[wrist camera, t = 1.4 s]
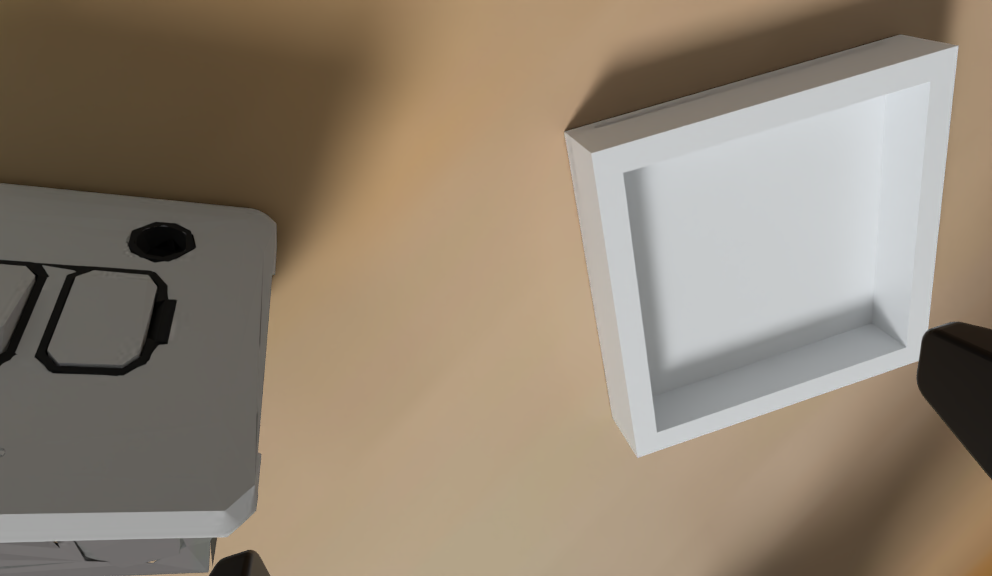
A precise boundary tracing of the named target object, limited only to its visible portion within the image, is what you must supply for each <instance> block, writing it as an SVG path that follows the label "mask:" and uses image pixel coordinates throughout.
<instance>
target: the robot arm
mask: <svg viewBox="0 0 992 576" xmlns="http://www.w3.org/2000/svg"><path fill="white" fill-rule="evenodd" d="M917 384H918V387H919V390H920V391H921V393H922V395H923V396H924V398H925V399H926V400H927V401H928V403H929V404H930V405H931V406H932V408H933V409H934V410H935V411H936V412H937V414H938V415H939V416H940V417H941V419H942V420H943V421H944V422H945V423H946V425H947V426H948V427H949V428H950V430H951V431H952V432H953V433H954V434H955V436H956V437H957V438H958V439H959V441H960V442H961V443H962V444H963V445H964V447H965V448H966V449H967V450H968V452H969V453H970V454H971V455H972V456H973V458H974V459H975V460H976V461H977V463H978V464H979V465H980V466H981V467H982V469H983V470H984V471H985V472H986V473H987V475H988V476H989V477H990V478H991V479H992V329H987V328H983V327H979V326H975V325H971V324H967V323H963V322H950V323H947V324H944V325H940V326H937V327H934V328H931V329H929V330H927V331H926V332H925V334H924V335H923V337H922V341H921V348H920V355H919V362H918V369H917ZM209 576H270V574H269V572H268V571H267V569H266V567H265V565H264V563H263V561H262V559H261V557H260V556H259V554H258V553H257V552H255V551H254V550H247V551H244V552H241V553H237V554H234V555H231V556H228V557H225V558H223V559H221V560H220V561H219V562H218V563H217V564H216V565H215V567H214V568H213V570H212V572H211V573H210V575H209Z"/></svg>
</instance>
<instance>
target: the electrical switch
mask: <svg viewBox="0 0 992 576" xmlns="http://www.w3.org/2000/svg"><path fill="white" fill-rule="evenodd" d="M276 252H277V228H276V223H275V222H274V221H273V220H272V219H271V218H270V217H269V216H268V215H267V214H265V213H263V212H261V211H259V210H256V209H252V208H242V207H233V206H223V205H213V204H203V203H193V202H183V201H173V200H164V199H154V198H144V197H134V196H124V195H114V194H104V193H95V192H85V191H75V190H65V189H55V188H45V187H36V186H26V185H16V184H6V183H0V576H129V575H153V574H178V573H203V572H208V571H209V558H210V543H211V554H212V566H213V560H214V554H215V547H216V540H217V537H228V536H229V535H230V534H231V533H232V532H234V531H235V530H236V529H237V528H238V527H239V526H240V525H242V524H243V523H244V522H245V521H246V520H247V519H248V518H249V517H250V516H251V515H252V514H253V513H254V512H255V511H256V507H257V500H258V484H259V474H260V463H261V454H260V453H258V444H259V431H260V419H261V407H262V394H263V382H264V370H265V358H266V345H267V333H268V321H269V309H270V296H271V284H272V275H275V268H276ZM53 541H57V543H54V542H53ZM154 560H156V561H155V562H154V563H148V562H150V561H154Z"/></svg>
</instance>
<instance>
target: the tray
mask: <svg viewBox="0 0 992 576" xmlns="http://www.w3.org/2000/svg"><path fill="white" fill-rule="evenodd" d="M957 54H958V45H953V44H948V43H943V42H937V41H932V40H927V39H922V38H916V37H911V36H906V35H901V34H900V35H897V36H893V37H890V38H886V39H883V40H879V41H876V42H872V43H869V44H866V45H862V46H859V47H855V48H852V49H848V50H845V51H841V52H838V53H834V54H831V55H828V56H824V57H821V58H817V59H814V60H810V61H807V62H803V63H800V64H796V65H793V66H789V67H786V68H783V69H779V70H776V71H772V72H769V73H765V74H762V75H758V76H755V77H751V78H748V79H745V80H741V81H738V82H734V83H731V84H727V85H724V86H720V87H717V88H713V89H710V90H706V91H703V92H700V93H696V94H693V95H689V96H686V97H682V98H679V99H675V100H672V101H668V102H665V103H662V104H658V105H655V106H651V107H648V108H644V109H641V110H637V111H634V112H630V113H627V114H623V115H620V116H617V117H613V118H610V119H606V120H603V121H599V122H596V123H592V124H589V125H585V126H582V127H579V128H575V129H572V130H568V131H565V132H564V133H565V139H566V145H567V151H568V157H569V163H570V169H571V175H572V181H573V187H574V193H575V198H576V204H577V210H578V216H579V222H580V228H581V234H582V240H583V246H584V252H585V258H586V264H587V269H588V275H589V281H590V287H591V293H592V299H593V305H594V311H595V317H596V323H597V329H598V335H599V341H600V346H601V352H602V358H603V364H604V370H605V376H606V382H607V388H608V394H609V400H610V406H611V412H612V417H613V419H614V421H615V423H616V424H617V426H618V427H619V429H620V431H621V432H622V434H623V435H624V437H625V439H626V440H627V442H628V443H629V445H630V447H631V448H632V450H633V451H634V453H635V455H636V456H637V458H638V457H641V456H644V455H647V454H650V453H653V452H656V451H659V450H661V449H664V448H667V447H670V446H673V445H676V444H679V443H682V442H685V441H688V440H690V439H693V438H696V437H699V436H702V435H705V434H708V433H711V432H714V431H717V430H719V429H722V428H725V427H728V426H731V425H734V424H737V423H740V422H743V421H746V420H748V419H751V418H754V417H757V416H760V415H763V414H766V413H769V412H772V411H775V410H777V409H780V408H783V407H786V406H789V405H792V404H795V403H798V402H801V401H804V400H806V399H809V398H812V397H815V396H818V395H821V394H824V393H827V392H830V391H833V390H835V389H838V388H841V387H844V386H847V385H850V384H853V383H856V382H859V381H862V380H864V379H867V378H870V377H873V376H876V375H879V374H882V373H885V372H888V371H891V370H893V369H896V368H899V367H902V366H905V365H908V364H911V363H914V362H917V361H919V355H920V348H921V341H922V337H923V335H924V334H925V332H926V331H927V330H928V324H929V315H930V305H931V296H932V287H933V278H934V268H935V259H936V250H937V240H938V231H939V222H940V212H941V203H942V194H943V184H944V175H945V166H946V156H947V147H948V138H949V128H950V119H951V110H952V101H953V91H954V82H955V73H956V63H957Z"/></svg>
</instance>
